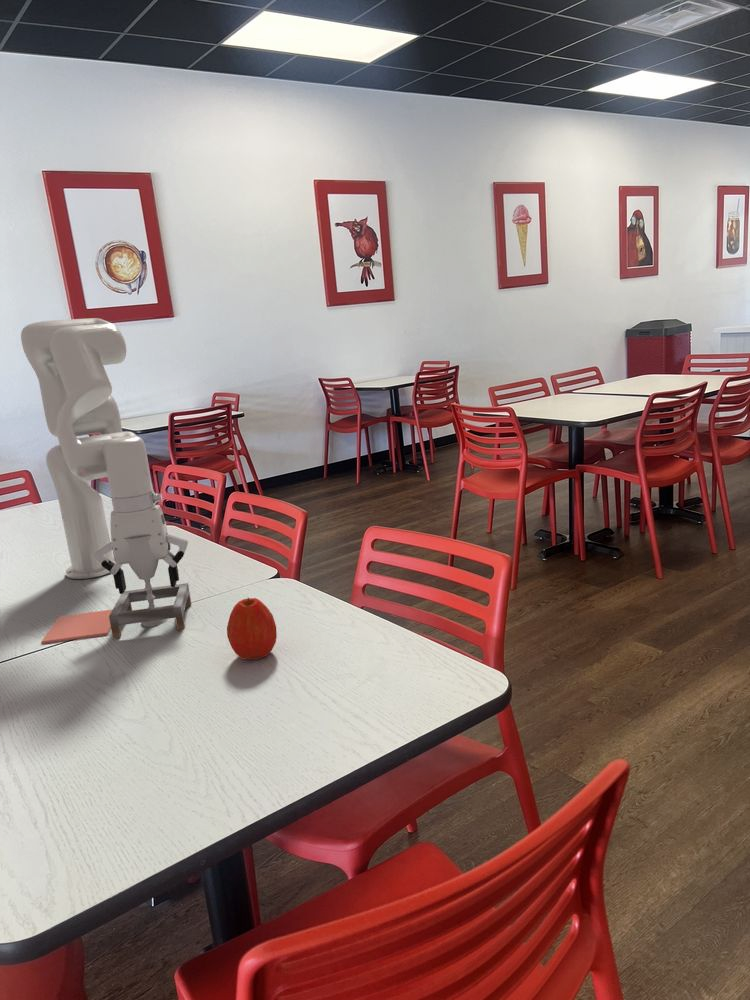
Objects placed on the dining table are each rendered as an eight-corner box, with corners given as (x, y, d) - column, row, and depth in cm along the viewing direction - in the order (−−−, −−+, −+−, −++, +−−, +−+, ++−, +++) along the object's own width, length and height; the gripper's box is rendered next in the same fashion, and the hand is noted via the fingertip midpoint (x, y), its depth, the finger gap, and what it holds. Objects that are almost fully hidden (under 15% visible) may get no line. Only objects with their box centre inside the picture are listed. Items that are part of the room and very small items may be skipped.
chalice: (180, 614, 141) (165, 528, 137) (159, 629, 135) (143, 539, 130) (149, 612, 144) (134, 527, 139) (127, 626, 137) (111, 538, 133)
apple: (238, 672, 115) (229, 611, 113) (224, 653, 122) (216, 595, 120) (286, 658, 119) (278, 598, 116) (270, 640, 126) (262, 584, 123)
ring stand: (126, 612, 145) (122, 591, 144) (191, 603, 146) (188, 582, 145) (113, 639, 132) (108, 616, 131) (184, 629, 134) (180, 606, 133)
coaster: (59, 618, 144) (59, 616, 144) (120, 610, 146) (120, 608, 146) (41, 643, 133) (41, 641, 133) (107, 634, 134) (107, 632, 134)
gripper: (182, 493, 138) (195, 575, 142) (90, 503, 136) (106, 587, 140) (178, 502, 131) (192, 588, 135) (81, 513, 129) (98, 601, 133)
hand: (148, 588), depth 138 cm, fingers open, 9 cm apart
